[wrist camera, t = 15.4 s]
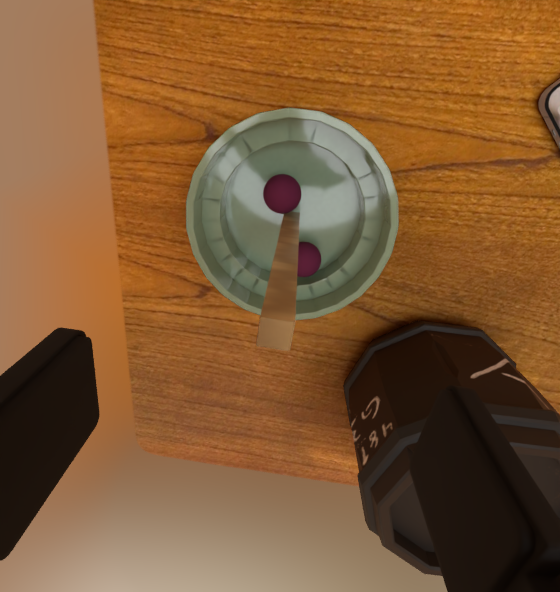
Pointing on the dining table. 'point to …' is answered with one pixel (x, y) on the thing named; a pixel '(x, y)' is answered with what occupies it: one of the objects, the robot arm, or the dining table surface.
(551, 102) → the smartphone
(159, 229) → the dining table surface
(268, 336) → the stick
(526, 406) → the wooden barrel
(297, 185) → the ball
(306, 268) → the ball
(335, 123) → the bowl
